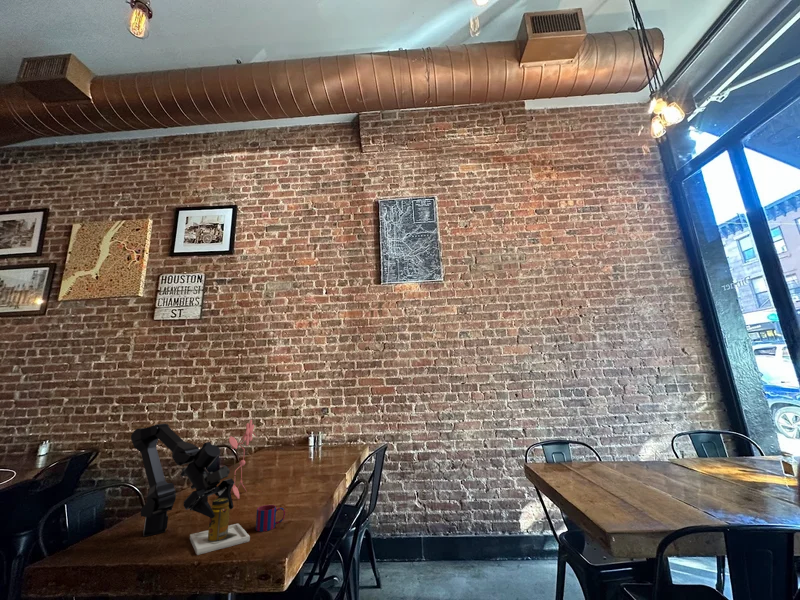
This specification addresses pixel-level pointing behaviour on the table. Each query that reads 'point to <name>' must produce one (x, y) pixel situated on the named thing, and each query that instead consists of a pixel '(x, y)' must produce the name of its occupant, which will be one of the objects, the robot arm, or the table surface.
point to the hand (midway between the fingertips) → (223, 512)
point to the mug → (267, 518)
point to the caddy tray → (204, 546)
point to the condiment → (219, 522)
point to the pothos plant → (234, 444)
